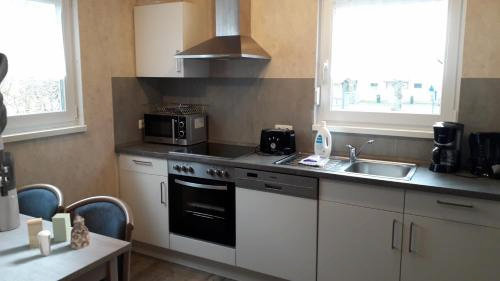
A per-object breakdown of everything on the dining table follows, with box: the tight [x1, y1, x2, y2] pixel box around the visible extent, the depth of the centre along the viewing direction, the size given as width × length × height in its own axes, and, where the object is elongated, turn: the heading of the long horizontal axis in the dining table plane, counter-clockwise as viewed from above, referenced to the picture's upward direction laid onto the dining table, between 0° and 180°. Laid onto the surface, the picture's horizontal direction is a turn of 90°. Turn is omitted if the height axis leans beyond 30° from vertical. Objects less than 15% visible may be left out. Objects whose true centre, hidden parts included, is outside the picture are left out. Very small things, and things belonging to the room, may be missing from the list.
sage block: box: [51, 212, 72, 243], centre depth 165 cm, size 5×5×10 cm
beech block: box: [26, 217, 44, 250], centre depth 160 cm, size 5×5×10 cm
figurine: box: [70, 213, 91, 250], centre depth 160 cm, size 7×7×12 cm
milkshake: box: [34, 229, 51, 257], centre depth 152 cm, size 4×5×10 cm
